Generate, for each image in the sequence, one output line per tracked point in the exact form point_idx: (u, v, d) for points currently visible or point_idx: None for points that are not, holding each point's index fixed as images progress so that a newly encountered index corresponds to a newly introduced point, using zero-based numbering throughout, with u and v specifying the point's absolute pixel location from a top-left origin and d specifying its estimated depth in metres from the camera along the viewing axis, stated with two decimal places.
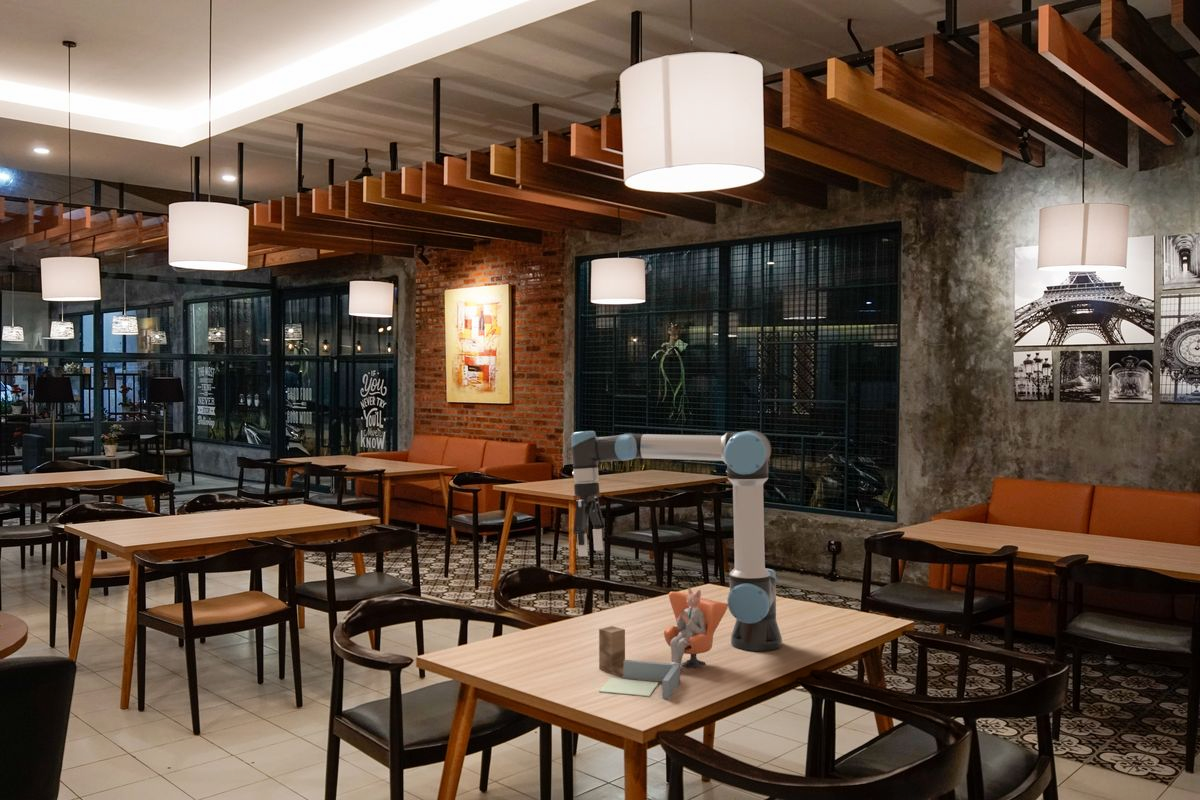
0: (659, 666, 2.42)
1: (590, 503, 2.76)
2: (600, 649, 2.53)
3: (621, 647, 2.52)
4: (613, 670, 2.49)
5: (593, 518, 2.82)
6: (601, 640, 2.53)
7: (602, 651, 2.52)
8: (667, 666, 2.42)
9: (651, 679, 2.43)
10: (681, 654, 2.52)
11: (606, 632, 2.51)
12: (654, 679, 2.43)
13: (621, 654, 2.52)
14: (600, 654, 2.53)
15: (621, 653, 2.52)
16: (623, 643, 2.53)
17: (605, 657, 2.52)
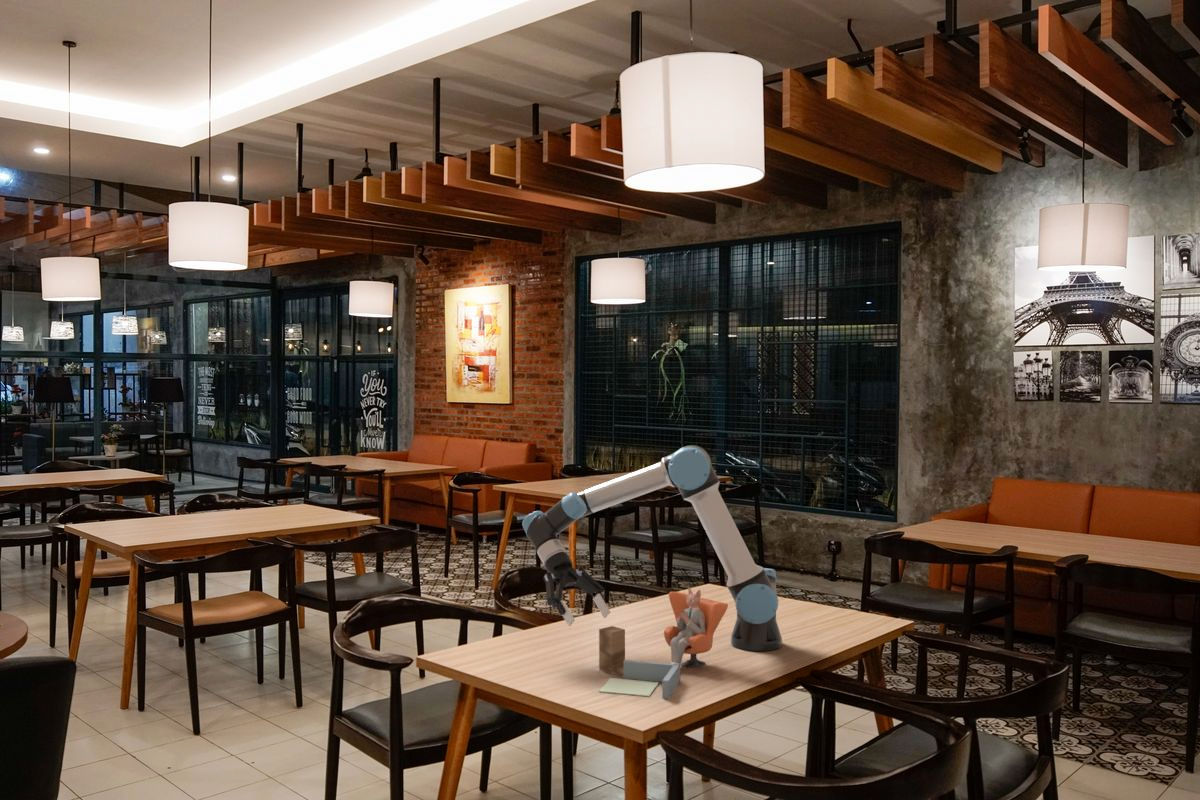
0: (659, 666, 2.42)
1: (562, 573, 2.64)
2: (600, 649, 2.53)
3: (621, 647, 2.52)
4: (613, 670, 2.49)
5: (584, 587, 2.67)
6: (601, 640, 2.53)
7: (602, 651, 2.52)
8: (667, 666, 2.42)
9: (651, 679, 2.43)
10: (681, 654, 2.52)
11: (606, 632, 2.51)
12: (654, 679, 2.43)
13: (621, 654, 2.52)
14: (600, 654, 2.53)
15: (621, 653, 2.52)
16: (623, 643, 2.53)
17: (605, 657, 2.52)
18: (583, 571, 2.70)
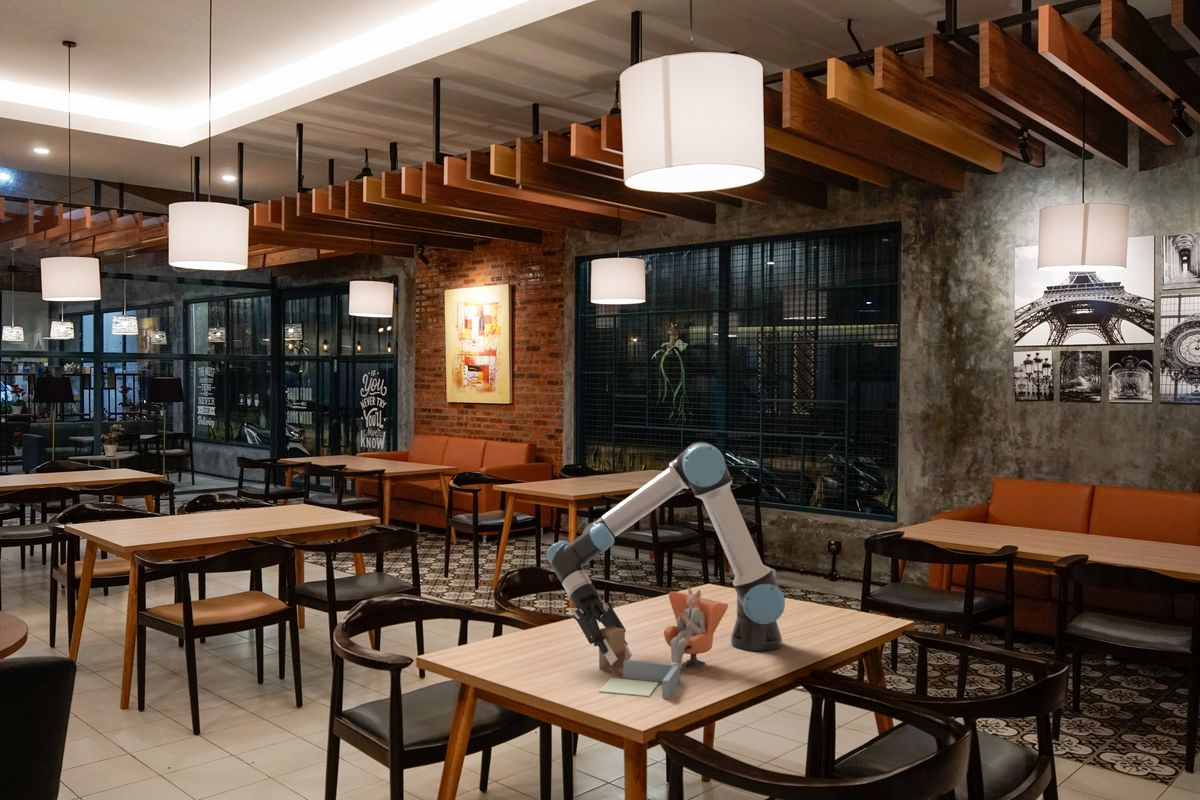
0: (659, 666, 2.42)
1: (589, 607, 2.57)
2: None
3: (621, 647, 2.52)
4: (613, 670, 2.49)
5: (606, 624, 2.58)
6: None
7: None
8: (667, 666, 2.42)
9: (651, 679, 2.43)
10: (681, 654, 2.52)
11: (606, 632, 2.51)
12: (654, 679, 2.43)
13: (621, 654, 2.52)
14: (600, 654, 2.53)
15: (621, 653, 2.52)
16: (623, 643, 2.53)
17: (605, 657, 2.52)
18: (610, 607, 2.61)
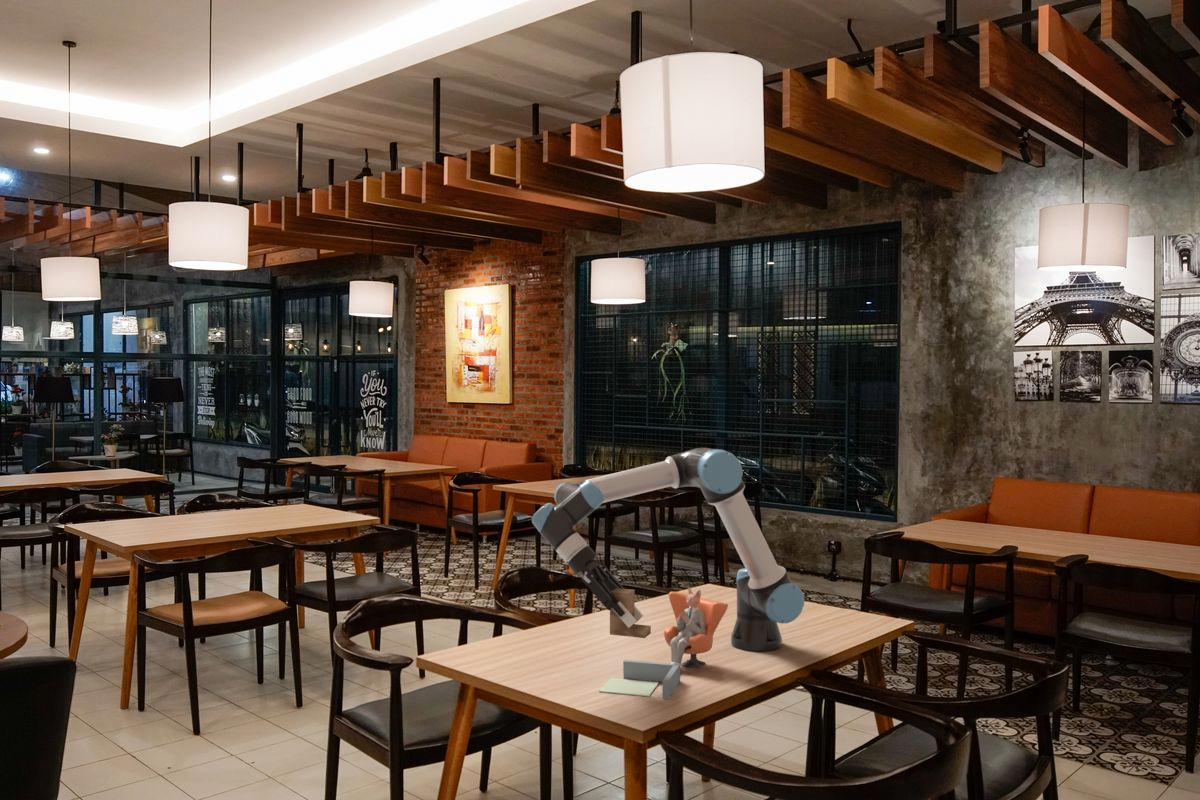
0: (659, 666, 2.42)
1: (595, 570, 2.40)
2: (611, 613, 2.38)
3: (632, 608, 2.40)
4: (630, 633, 2.36)
5: (609, 587, 2.43)
6: None
7: (614, 615, 2.38)
8: (667, 666, 2.42)
9: (651, 679, 2.43)
10: (681, 654, 2.52)
11: (620, 594, 2.37)
12: (654, 679, 2.43)
13: None
14: (611, 618, 2.38)
15: (632, 615, 2.40)
16: (633, 604, 2.41)
17: (618, 620, 2.37)
18: (607, 570, 2.47)
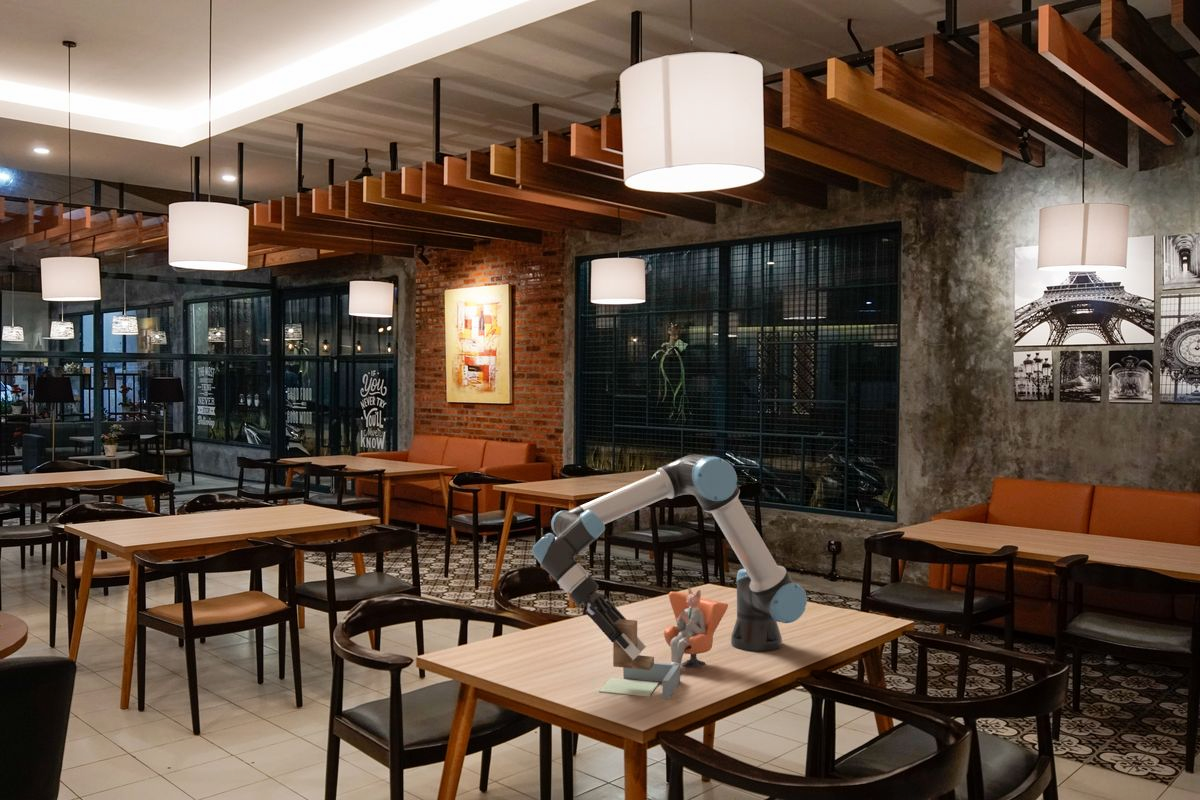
0: (659, 666, 2.42)
1: (597, 601, 2.37)
2: (615, 645, 2.35)
3: (635, 639, 2.38)
4: (634, 665, 2.34)
5: (612, 618, 2.40)
6: None
7: (618, 646, 2.35)
8: (667, 666, 2.42)
9: (651, 679, 2.43)
10: (681, 654, 2.52)
11: (624, 625, 2.35)
12: (654, 679, 2.43)
13: None
14: (615, 650, 2.35)
15: None
16: (636, 635, 2.38)
17: (622, 652, 2.35)
18: (608, 600, 2.44)
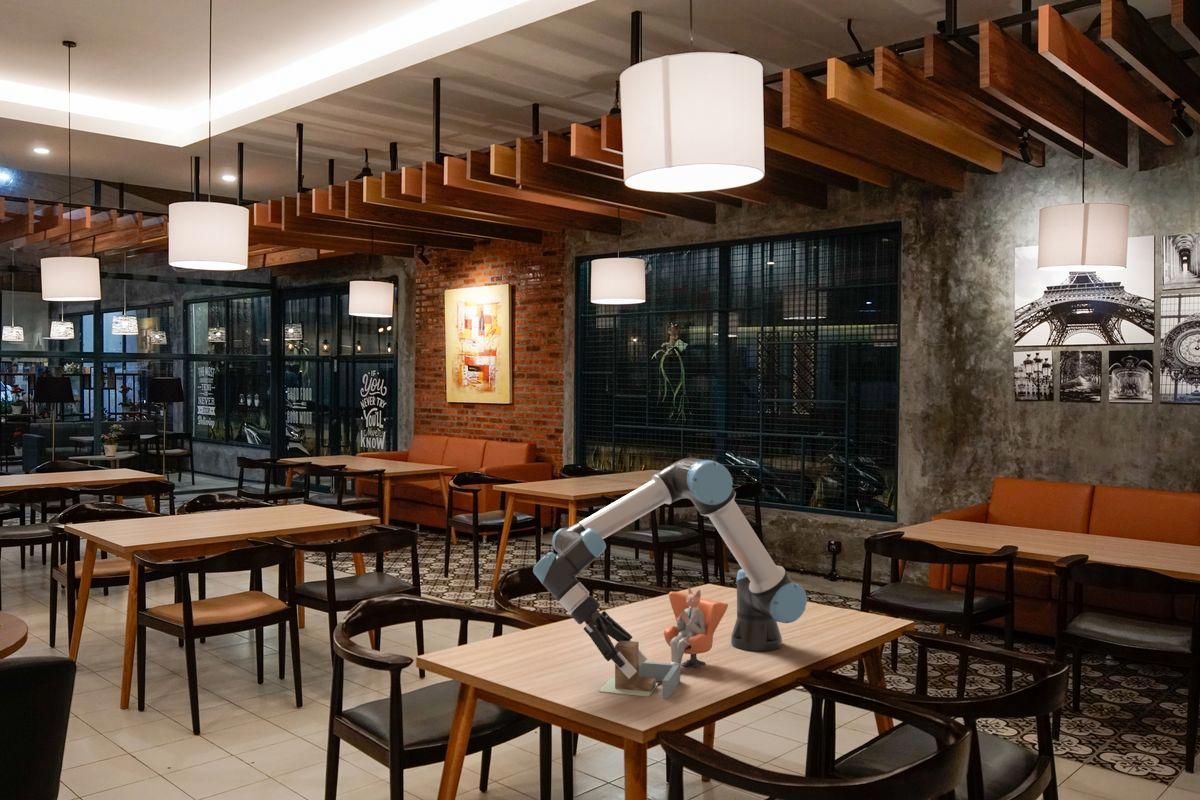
0: (659, 666, 2.42)
1: (598, 620, 2.38)
2: (617, 667, 2.36)
3: (637, 661, 2.38)
4: (636, 686, 2.34)
5: (614, 634, 2.42)
6: None
7: None
8: (667, 666, 2.42)
9: None
10: (681, 654, 2.52)
11: (626, 647, 2.35)
12: None
13: (637, 668, 2.38)
14: (617, 672, 2.36)
15: (637, 667, 2.38)
16: (638, 657, 2.39)
17: (624, 674, 2.35)
18: (608, 616, 2.45)
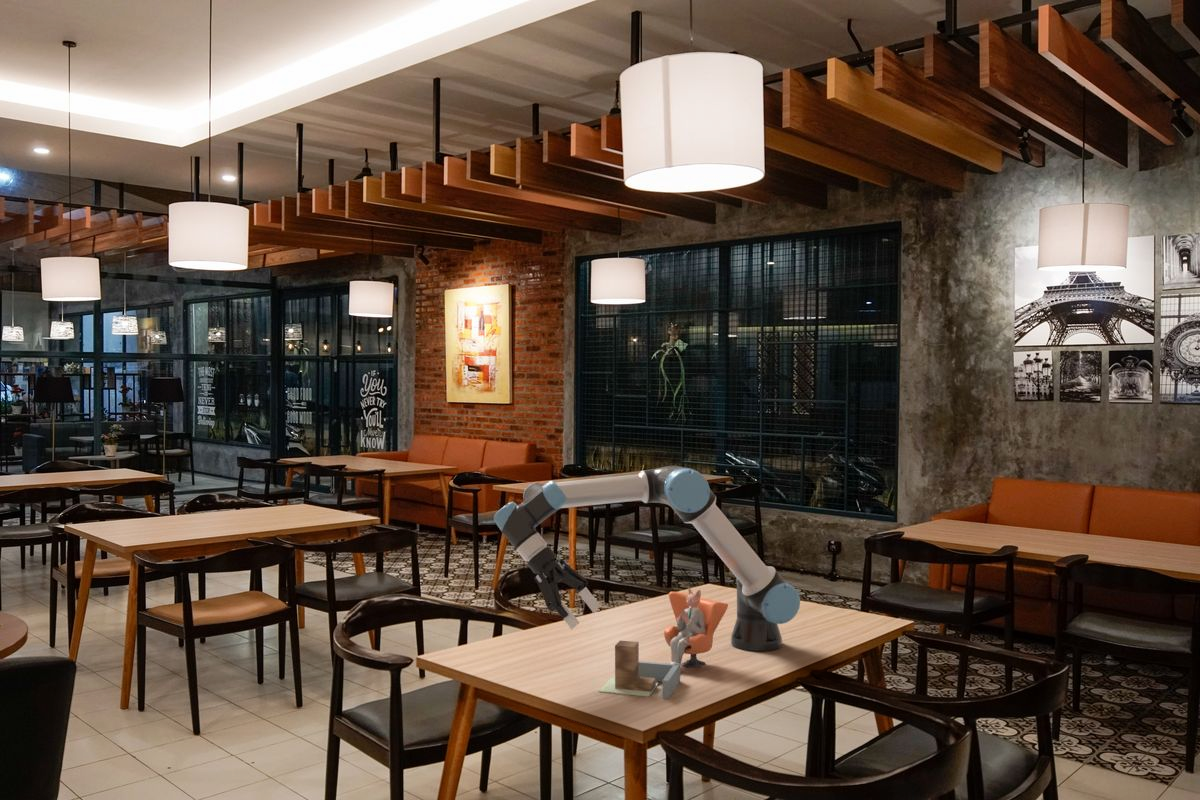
0: (659, 666, 2.42)
1: (552, 571, 2.44)
2: (617, 667, 2.36)
3: (637, 661, 2.38)
4: (636, 686, 2.34)
5: (569, 582, 2.49)
6: (618, 657, 2.35)
7: (620, 668, 2.35)
8: (667, 666, 2.42)
9: None
10: (681, 654, 2.52)
11: (626, 647, 2.35)
12: None
13: (637, 668, 2.38)
14: (617, 672, 2.36)
15: (637, 667, 2.38)
16: (638, 657, 2.39)
17: (624, 674, 2.35)
18: (565, 564, 2.51)
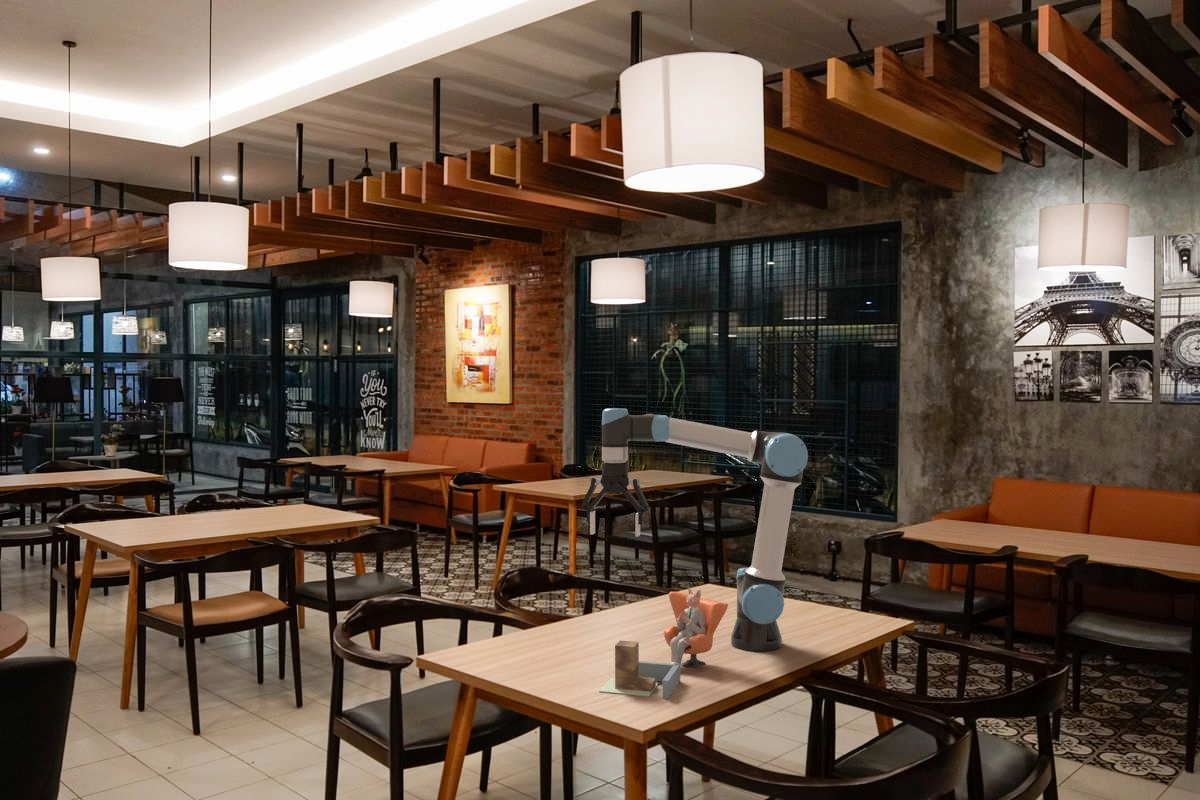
0: (659, 666, 2.42)
1: (607, 483, 2.66)
2: (617, 667, 2.36)
3: (637, 661, 2.38)
4: (636, 686, 2.34)
5: None
6: (618, 657, 2.35)
7: (620, 668, 2.35)
8: (667, 666, 2.42)
9: None
10: (681, 654, 2.52)
11: (626, 647, 2.35)
12: None
13: (637, 668, 2.38)
14: (617, 672, 2.36)
15: (637, 667, 2.38)
16: (638, 657, 2.39)
17: (624, 674, 2.35)
18: (635, 485, 2.64)
